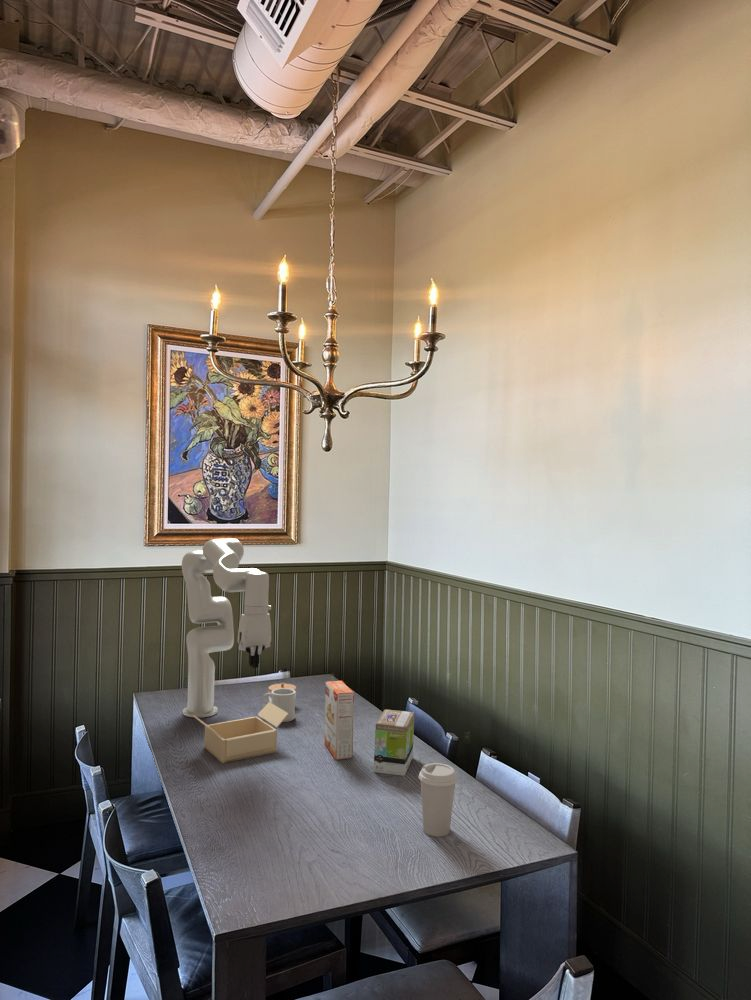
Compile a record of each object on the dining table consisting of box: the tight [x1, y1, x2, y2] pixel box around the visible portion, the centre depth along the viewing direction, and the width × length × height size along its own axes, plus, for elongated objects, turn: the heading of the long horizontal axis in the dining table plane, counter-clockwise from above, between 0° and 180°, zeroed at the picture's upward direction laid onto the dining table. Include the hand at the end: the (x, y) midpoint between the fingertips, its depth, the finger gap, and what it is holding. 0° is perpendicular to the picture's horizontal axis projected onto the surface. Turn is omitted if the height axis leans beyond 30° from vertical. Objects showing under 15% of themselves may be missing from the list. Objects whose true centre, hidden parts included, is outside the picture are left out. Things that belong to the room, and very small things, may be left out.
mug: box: [261, 688, 297, 723], centre depth 245 cm, size 12×9×10 cm
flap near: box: [193, 715, 222, 738], centre depth 207 cm, size 14×6×1 cm
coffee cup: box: [418, 762, 458, 838], centre depth 165 cm, size 10×10×15 cm
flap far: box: [257, 701, 289, 728], centre depth 220 cm, size 14×6×1 cm
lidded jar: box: [267, 682, 297, 703], centre depth 258 cm, size 11×11×9 cm
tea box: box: [373, 709, 415, 777], centre depth 205 cm, size 15×10×15 cm, turn 168°
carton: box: [204, 716, 278, 764], centre depth 214 cm, size 16×18×7 cm
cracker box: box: [324, 680, 355, 761], centre depth 215 cm, size 14×6×21 cm, turn 19°
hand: (253, 666), depth 216 cm, fingers closed
